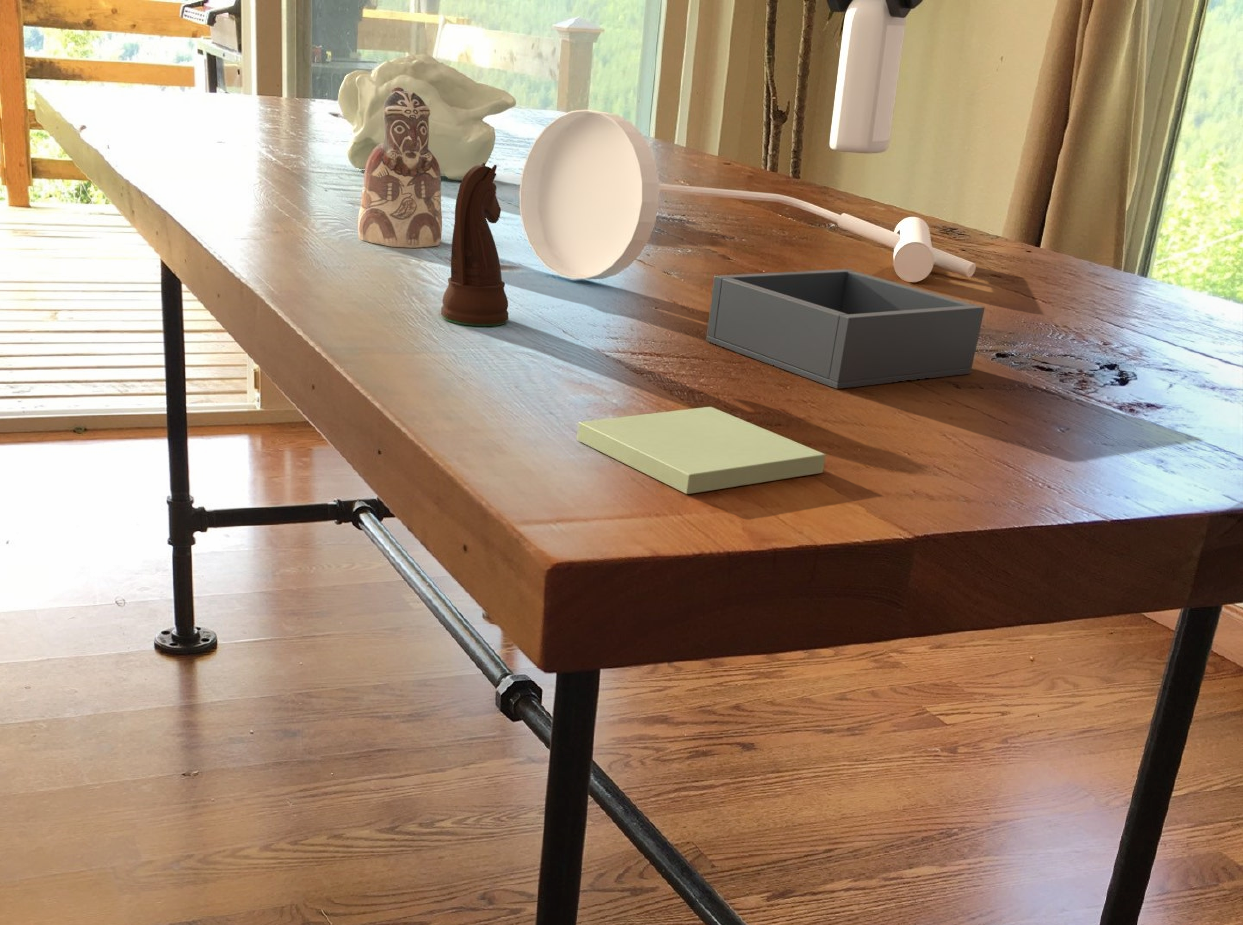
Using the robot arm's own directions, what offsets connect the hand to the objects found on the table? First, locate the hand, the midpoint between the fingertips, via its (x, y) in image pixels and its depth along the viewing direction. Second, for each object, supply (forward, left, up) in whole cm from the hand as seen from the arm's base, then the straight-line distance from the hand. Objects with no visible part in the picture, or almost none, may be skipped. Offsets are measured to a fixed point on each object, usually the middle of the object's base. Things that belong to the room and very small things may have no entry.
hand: (862, 1), depth 81 cm
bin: (+3, -6, -22) cm, 23 cm away
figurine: (+47, +3, -22) cm, 52 cm away
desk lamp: (+29, -25, -22) cm, 44 cm away
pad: (-11, +18, -22) cm, 30 cm away
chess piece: (+19, +13, -22) cm, 32 cm away
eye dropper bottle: (0, -2, -8) cm, 8 cm away
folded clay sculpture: (+84, -21, -22) cm, 89 cm away
